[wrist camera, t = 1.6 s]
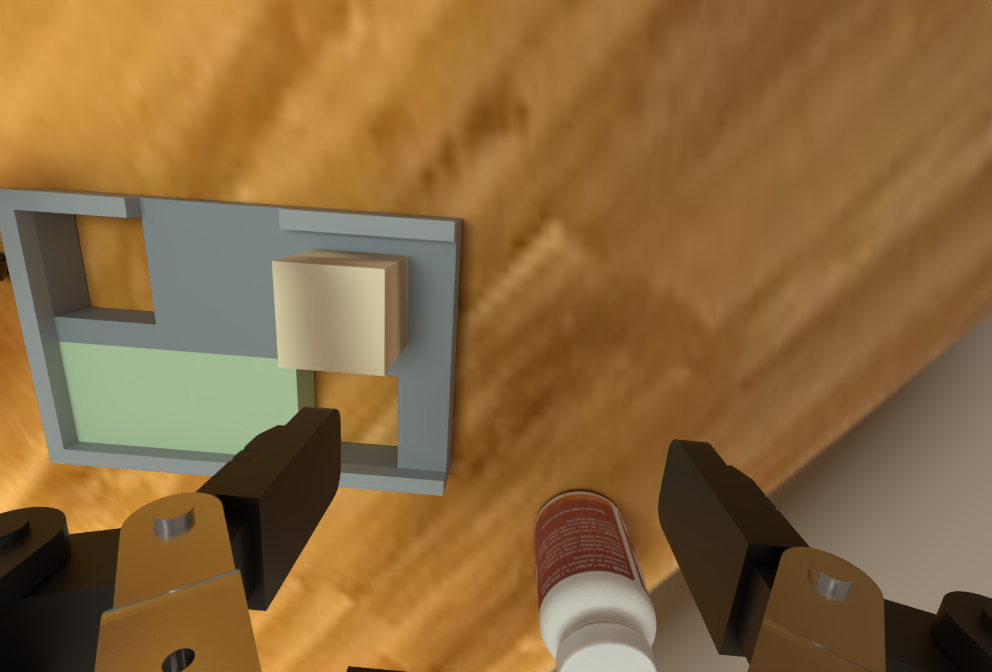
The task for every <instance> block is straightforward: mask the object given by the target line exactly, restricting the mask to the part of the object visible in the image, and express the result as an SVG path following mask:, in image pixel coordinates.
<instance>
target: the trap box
mask: <svg viewBox="0 0 992 672" xmlns="http://www.w3.org/2000/svg"><path fill="white" fill-rule="evenodd" d="M74 214H80V215H94V216H108V217H121V218H134V217H141V218H142V225H143V233H144V240H145V247H146V255H147V262H148V269H149V277H150V284H151V291H152V299H153V306H154V312H149V311H136V310H123V309H110V308H97V307H90V302H89V296H88V290H87V284H86V279H85V273H84V267H83V261H82V256H81V250H80V244H79V239H78V233H77V227H76V221H75V216H74ZM0 233H1V238H2V242H3V247H4V252H5V256H6V261H7V265H8V270H9V274H10V279H11V284H12V288H13V293H14V297H15V302H16V306H17V311H18V316H19V320H20V325H21V329H22V334H23V338H24V343H25V348H26V352H27V357H28V361H29V366H30V370H31V375H32V380H33V384H34V389H35V393H36V398H37V402H38V407H39V412H40V416H41V421H42V425H43V430H44V434H45V439H46V444H47V448H48V453H49V457H50V462H51V463H60V464H72V465H84V466H96V467H108V468H119V469H131V470H143V471H155V472H167V473H179V474H191V475H202V476H213V475H215V474H216V473H217V472H218V471H219V470H220V469H221V468H222V467H223V466H224V465H225V464H226V463H228V462H229V461H232V458H233V457H234V456H235V455H236V454H237V453H238V452H239V451H240V450H243V449H244V447H245V446H246V445H247V444H248V443H249V442H250V441H251V440H252V439H253V438H255V437H256V436H257V435H258V434H260V433H262V432H264V431H266V430H268V429H271V428H273V427H275V426H277V425H284V426H285V425H286V424H287V423H288V422H289V421H290V420H291V419H292V418H293V417H294V416H295V415H296V414H297V413H298V412H299V411H300V410H301V409H302V408H303V407H305V406H307V407H316V406H315V382H314V370H302V369H289V368H279V367H278V351H277V335H276V320H275V304H274V288H273V272H272V261H273V260H277V259H281V258H284V257H288V256H292V255H296V254H299V253H303V252H307V251H310V250H314V249H327V250H341V251H355V252H368V253H382V254H395V255H409V294H408V344H407V346H406V347H405V349H404V350H403V351H402V353H401V354H400V355H399V357H398V358H397V359H396V361H395V362H394V364H393V365H392V366H391V368H390V369H389V370H388V372H387V373H386V374H385V375H386V376H398V377H399V378H398V447H396V446H383V445H371V444H359V443H347V442H341V475H340V481H339V486H338V487H345V488H357V489H368V490H380V491H392V492H404V493H416V494H428V495H440V496H443V494H444V490H445V486H446V482H447V478H448V474H449V470H450V466H451V451H452V429H453V408H454V387H455V365H456V344H457V323H458V301H459V280H460V259H461V237H462V218H449V217H435V216H421V215H407V214H394V213H380V212H366V211H352V210H338V209H324V208H310V207H296V206H282V205H269V204H255V203H241V202H227V201H213V200H199V199H185V198H171V197H158V196H144V195H130V194H116V193H102V192H88V191H74V190H60V189H14V188H0Z"/></svg>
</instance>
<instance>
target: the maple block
mask: <svg viewBox="0 0 992 672" xmlns="http://www.w3.org/2000/svg"><path fill="white" fill-rule="evenodd" d="M272 272H273V288H274V304H275V320H276V335H277V351H278V367H279V368H289V369H302V370H314V371H327V372H340V373H352V374H365V375H377V376H385V374H386V373H387V372H388V370H389V369H390V368H391V366H392V365H393V364H394V362H395V361H396V359H397V358H398V357H399V355H400V354H401V353H402V351H403V350H404V349H405V347H406V346H407V344H408V294H409V255H395V254H382V253H368V252H355V251H341V250H327V249H314V250H310V251H307V252H303V253H299V254H296V255H292V256H288V257H284V258H281V259H277V260H273V261H272Z"/></svg>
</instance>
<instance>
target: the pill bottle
mask: <svg viewBox="0 0 992 672" xmlns="http://www.w3.org/2000/svg"><path fill="white" fill-rule="evenodd" d="M534 542H535V557H536V577H537V590H538V607H539V622H540V631H541V635H542V639H543V641H544V644H545V646H546V647H547V649H548V651H549V652H550V653H551V655H552V656H553V657H554V658H555V659H556V669H557V672H657V669H656V665H655V662H654V658H653V653H652V649H651V646H652V644H653V641H654V638H655V634H656V617H655V613H654V609H653V606H652V602H651V599H650V596H649V593H648V590H647V587H646V584H645V581H644V578H643V575H642V572H641V569H640V566H639V563H638V560H637V557H636V554H635V551H634V548H633V545H632V542H631V539H630V536H629V533H628V531H627V528H626V525H625V522H624V520H623V517H622V515H621V513H620V512H619V510H618V509H617V507H616V506H615V505H614V504H613V503H612V502H610V501H609V500H608V499H606V498H604V497H602V496H600V495H598V494H594V493H591V492H584V491H575V492H568V493H564V494H561V495H559V496H556V497H555V498H553V499H552V500H550V501H549V502H548V503H547V504H546V505H545V506H544V507H543V508H542V509H541V511H540V512H539V514H538V516H537V519H536V522H535V527H534Z"/></svg>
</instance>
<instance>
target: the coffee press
mask: <svg viewBox="0 0 992 672" xmlns="http://www.w3.org/2000/svg"><path fill="white" fill-rule="evenodd" d="M7 270H8V265H7V261H6V256H5V254H3V253H0V281H3V280H5V278H6V274H7Z"/></svg>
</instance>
